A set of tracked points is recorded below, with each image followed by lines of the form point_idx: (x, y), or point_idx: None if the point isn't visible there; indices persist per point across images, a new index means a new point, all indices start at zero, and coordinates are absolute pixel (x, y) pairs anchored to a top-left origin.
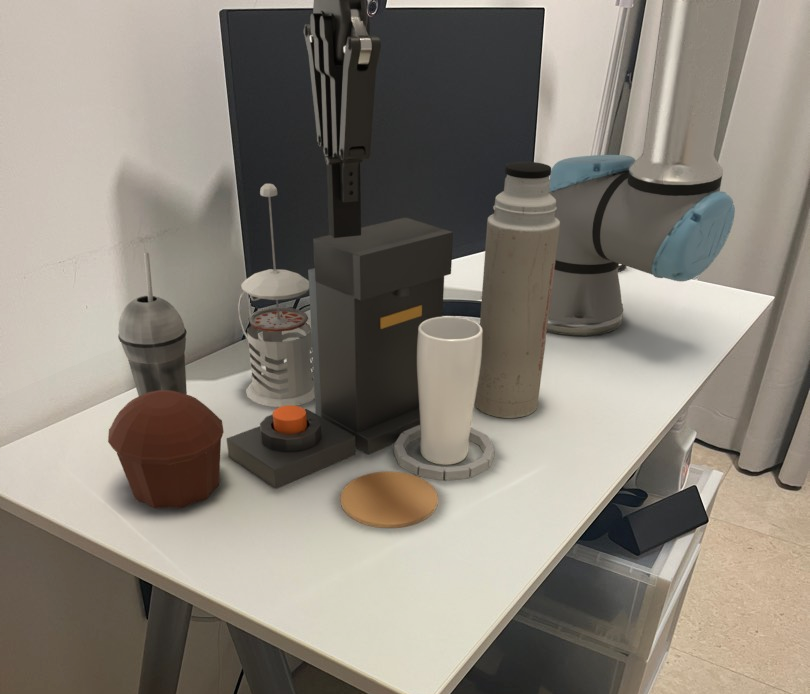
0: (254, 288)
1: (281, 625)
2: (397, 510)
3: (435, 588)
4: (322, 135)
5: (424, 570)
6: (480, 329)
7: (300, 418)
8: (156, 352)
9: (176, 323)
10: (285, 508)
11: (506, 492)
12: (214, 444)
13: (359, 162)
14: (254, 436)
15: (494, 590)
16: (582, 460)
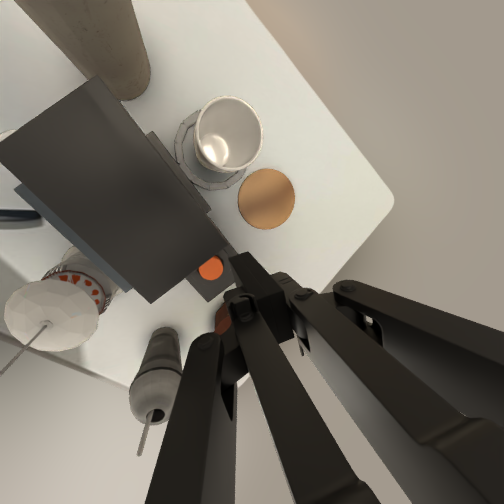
0: (84, 336)
1: (349, 255)
2: (282, 196)
3: (342, 185)
4: (236, 389)
5: (328, 188)
6: (238, 99)
7: (220, 261)
8: None
9: (167, 379)
10: (265, 259)
11: (265, 117)
12: None
13: (282, 290)
14: (206, 286)
15: (349, 154)
16: (228, 33)
